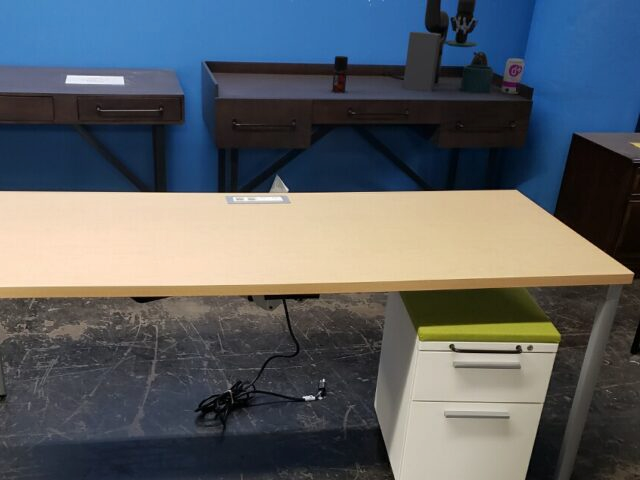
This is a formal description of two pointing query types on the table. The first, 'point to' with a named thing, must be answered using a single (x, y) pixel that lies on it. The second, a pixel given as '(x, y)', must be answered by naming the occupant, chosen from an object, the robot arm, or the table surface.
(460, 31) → the tin lid
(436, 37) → the cassette tape recorder
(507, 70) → the supplement can
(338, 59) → the deodorant
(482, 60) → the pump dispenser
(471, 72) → the tin
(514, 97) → the table surface
